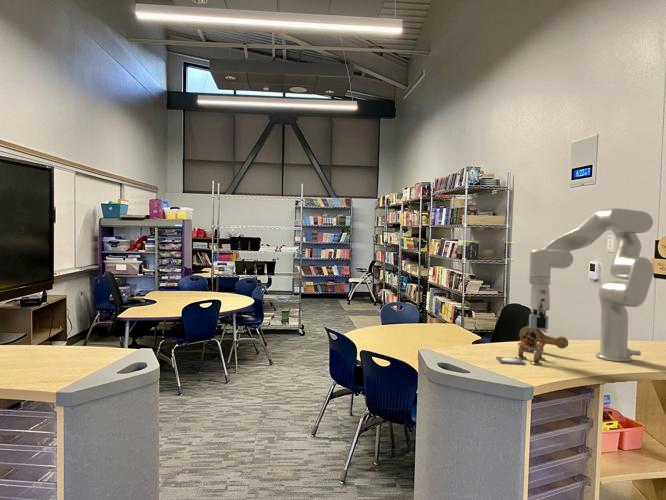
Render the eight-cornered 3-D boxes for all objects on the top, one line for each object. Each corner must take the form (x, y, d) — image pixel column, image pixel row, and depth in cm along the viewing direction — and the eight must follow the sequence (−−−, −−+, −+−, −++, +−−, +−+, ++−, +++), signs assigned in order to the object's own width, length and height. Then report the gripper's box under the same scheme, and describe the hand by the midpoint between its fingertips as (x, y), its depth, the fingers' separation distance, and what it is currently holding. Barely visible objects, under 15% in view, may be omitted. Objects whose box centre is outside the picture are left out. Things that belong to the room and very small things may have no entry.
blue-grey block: (544, 327, 187) (544, 314, 187) (549, 329, 180) (549, 316, 180) (527, 326, 188) (528, 313, 188) (531, 328, 181) (532, 316, 181)
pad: (519, 359, 186) (519, 357, 186) (525, 364, 177) (525, 363, 177) (496, 358, 187) (496, 356, 187) (500, 363, 179) (501, 361, 179)
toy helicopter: (525, 347, 210) (525, 316, 210) (572, 356, 194) (572, 323, 194) (515, 349, 205) (515, 318, 205) (562, 359, 189) (563, 325, 189)
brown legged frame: (542, 358, 189) (543, 341, 189) (553, 366, 176) (553, 347, 176) (514, 356, 191) (514, 339, 191) (522, 364, 178) (523, 346, 178)
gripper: (556, 282, 175) (555, 330, 175) (543, 279, 192) (542, 323, 192) (535, 281, 176) (534, 329, 176) (524, 279, 193) (523, 322, 193)
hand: (538, 325), depth 184 cm, fingers closed on blue-grey block, 6 cm apart
